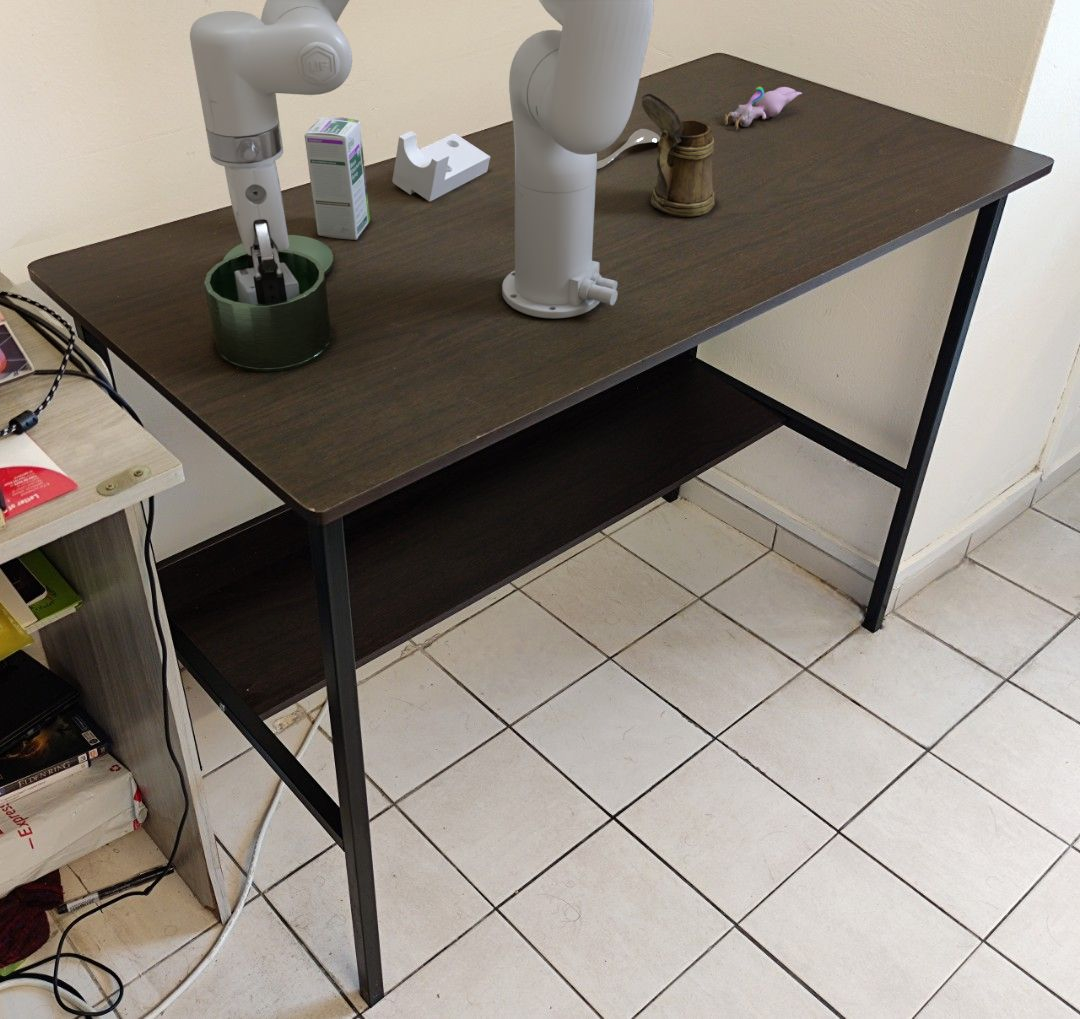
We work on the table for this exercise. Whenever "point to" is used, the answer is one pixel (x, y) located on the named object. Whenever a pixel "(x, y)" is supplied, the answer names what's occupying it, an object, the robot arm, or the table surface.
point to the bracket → (436, 165)
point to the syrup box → (337, 177)
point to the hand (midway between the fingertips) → (268, 287)
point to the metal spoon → (632, 144)
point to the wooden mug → (681, 162)
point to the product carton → (248, 287)
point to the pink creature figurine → (762, 105)
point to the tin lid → (301, 250)
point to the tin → (270, 317)
